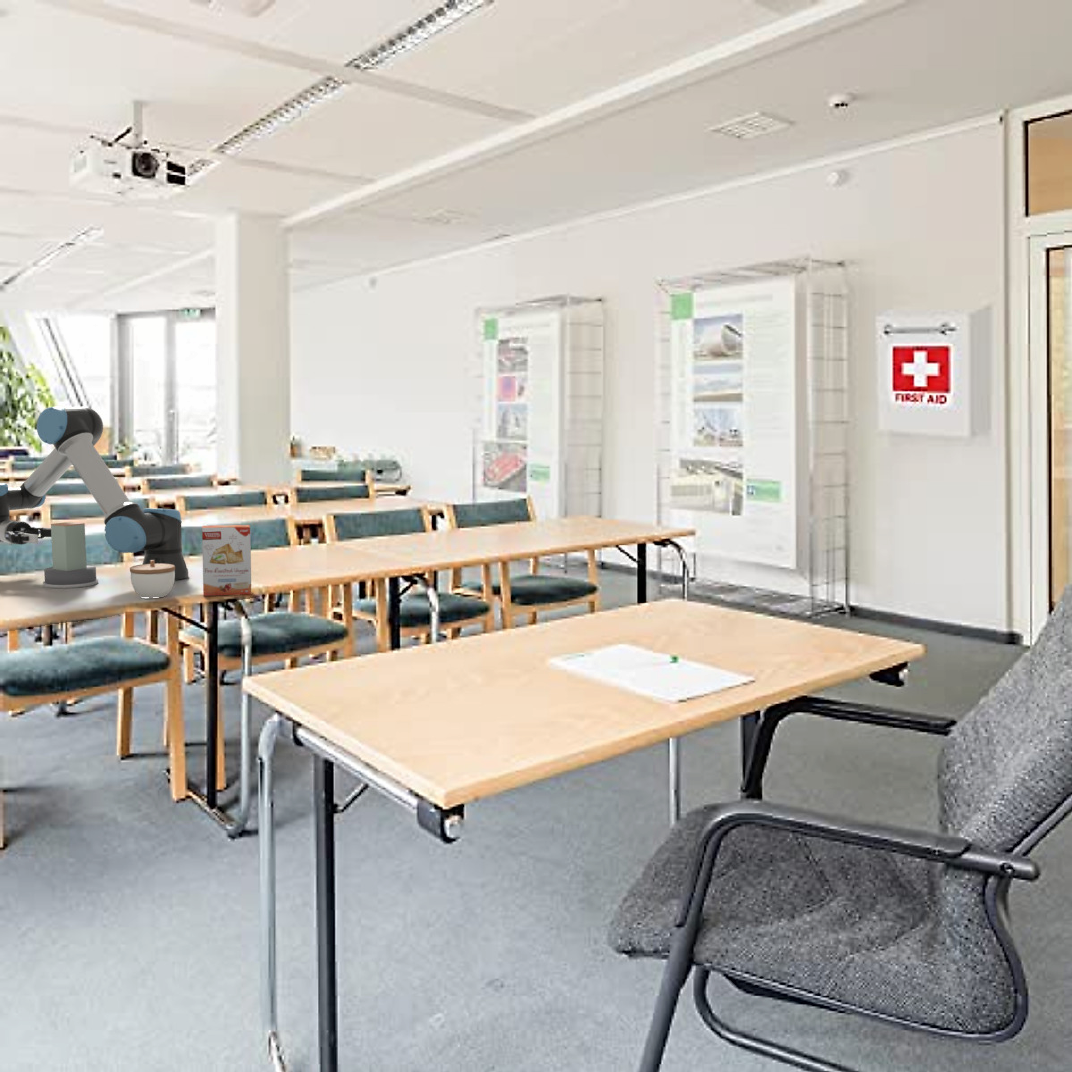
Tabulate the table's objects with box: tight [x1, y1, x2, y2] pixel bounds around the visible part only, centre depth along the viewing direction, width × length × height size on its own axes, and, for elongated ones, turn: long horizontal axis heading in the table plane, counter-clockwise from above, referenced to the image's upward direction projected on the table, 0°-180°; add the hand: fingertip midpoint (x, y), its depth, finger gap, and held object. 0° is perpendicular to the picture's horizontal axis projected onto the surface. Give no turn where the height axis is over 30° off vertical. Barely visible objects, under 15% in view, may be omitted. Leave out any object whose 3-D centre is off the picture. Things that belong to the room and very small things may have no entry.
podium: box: [42, 565, 99, 589], centre depth 332 cm, size 16×16×5 cm
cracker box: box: [201, 524, 252, 597], centre depth 315 cm, size 14×6×21 cm, turn 105°
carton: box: [50, 521, 87, 571], centre depth 330 cm, size 7×7×14 cm
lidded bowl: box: [129, 560, 176, 598], centre depth 310 cm, size 13×13×11 cm
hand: (56, 536), depth 333 cm, fingers open, 13 cm apart
